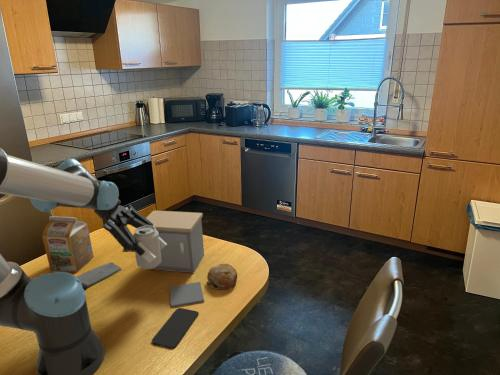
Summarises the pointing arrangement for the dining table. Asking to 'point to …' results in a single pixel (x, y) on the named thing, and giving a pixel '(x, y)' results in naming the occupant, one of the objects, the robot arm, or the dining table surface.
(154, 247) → the can
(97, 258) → the dining table surface
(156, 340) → the phone
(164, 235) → the cabinet
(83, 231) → the milk carton
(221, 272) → the bread roll
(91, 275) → the cleaver
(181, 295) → the mat
